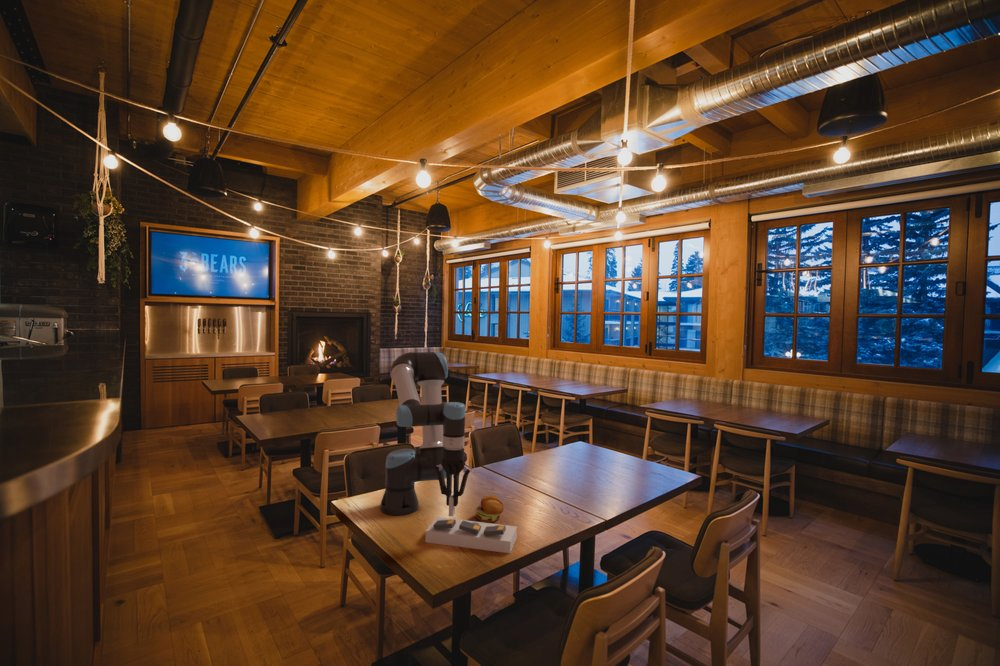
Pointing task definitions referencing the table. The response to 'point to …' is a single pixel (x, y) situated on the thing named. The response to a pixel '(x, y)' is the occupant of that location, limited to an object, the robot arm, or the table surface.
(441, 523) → the rocker left
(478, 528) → the rocker middle
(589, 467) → the table surface
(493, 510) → the cheeseburger
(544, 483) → the table surface
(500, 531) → the rocker right
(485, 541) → the rocker switch panel
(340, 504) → the table surface
